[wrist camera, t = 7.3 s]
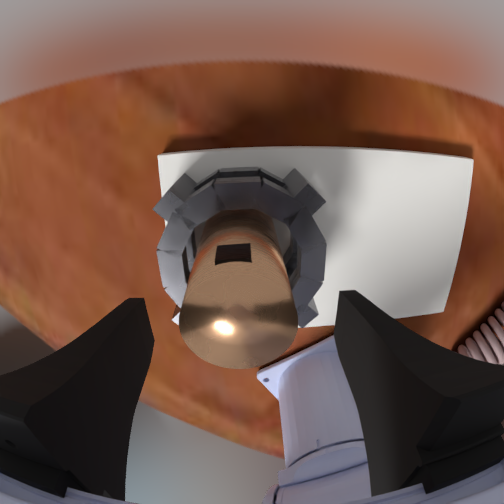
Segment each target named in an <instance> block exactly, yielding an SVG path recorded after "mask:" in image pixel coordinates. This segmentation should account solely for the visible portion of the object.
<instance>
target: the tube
mask: <svg viewBox="0 0 504 504" xmlns="http://www.w3.org/2000/svg"><path fill="white" fill-rule="evenodd" d="M179 328H180V332H181V335H182V337H183V339H184V341H185V343H186V344H187V346H188V347H189V348H190V349H191V350H192V351H193V352H194V353H195V354H196V355H197V356H199V357H200V358H202V359H203V360H205V361H207V362H209V363H212V364H214V365H217V366H221V367H225V368H232V369H246V368H253V367H258V366H261V365H264V364H266V363H269V362H271V361H273V360H274V359H276V358H278V357H279V356H280V355H282V354H283V353H284V352H285V351H286V350H287V349H288V348H289V346H290V345H291V344H292V342H293V340H294V338H295V336H296V333H297V330H298V315H297V310H296V306H295V303H294V299H293V295H292V291H291V287H290V283H289V279H288V276H287V272H286V268H285V264H284V260H283V257H282V253H281V249H280V246H279V242H278V238H277V234H276V231H275V227H274V223H273V220H272V217H271V216H269V215H267V214H265V213H263V212H261V211H259V210H257V209H239V210H221V211H220V212H218V213H217V214H215V215H214V216H212V217H210V218H209V219H207V220H206V223H205V226H204V229H203V233H202V236H201V239H200V243H199V246H198V249H197V253H196V256H195V260H194V263H193V267H192V270H191V274H190V277H189V281H188V284H187V288H186V292H185V295H184V299H183V303H182V306H181V310H180V315H179Z"/></svg>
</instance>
